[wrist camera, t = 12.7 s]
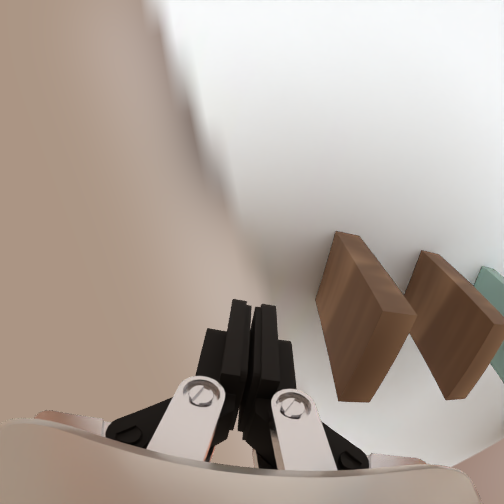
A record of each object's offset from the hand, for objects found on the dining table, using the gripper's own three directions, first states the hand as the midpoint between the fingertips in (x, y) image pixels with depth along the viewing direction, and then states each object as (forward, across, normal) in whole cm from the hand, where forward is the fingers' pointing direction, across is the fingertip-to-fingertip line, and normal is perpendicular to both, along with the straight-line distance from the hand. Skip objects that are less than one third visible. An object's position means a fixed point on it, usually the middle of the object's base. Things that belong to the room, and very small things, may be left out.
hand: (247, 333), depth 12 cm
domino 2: (+8, -12, 0) cm, 15 cm away
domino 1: (+8, -6, 0) cm, 10 cm away
